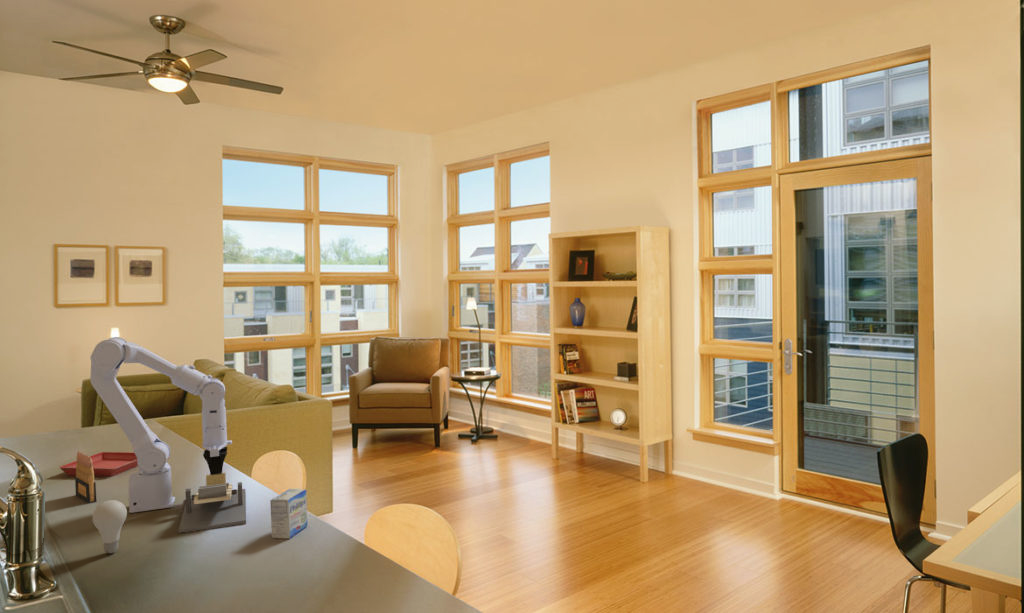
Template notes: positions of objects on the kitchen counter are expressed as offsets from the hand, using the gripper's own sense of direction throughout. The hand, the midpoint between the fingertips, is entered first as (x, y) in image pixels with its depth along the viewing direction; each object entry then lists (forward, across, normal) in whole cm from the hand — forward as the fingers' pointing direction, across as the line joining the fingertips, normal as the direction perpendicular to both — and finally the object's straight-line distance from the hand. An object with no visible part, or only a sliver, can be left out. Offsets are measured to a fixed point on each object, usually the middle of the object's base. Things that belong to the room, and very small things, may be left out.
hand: (216, 477), depth 170 cm
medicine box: (+6, -34, -16) cm, 38 cm away
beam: (+1, -11, 0) cm, 11 cm away
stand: (+5, -11, 0) cm, 12 cm away
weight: (+2, -5, 0) cm, 5 cm away
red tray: (+6, +46, +32) cm, 57 cm away
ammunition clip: (+5, +15, +32) cm, 36 cm away
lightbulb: (+5, -30, +19) cm, 36 cm away
